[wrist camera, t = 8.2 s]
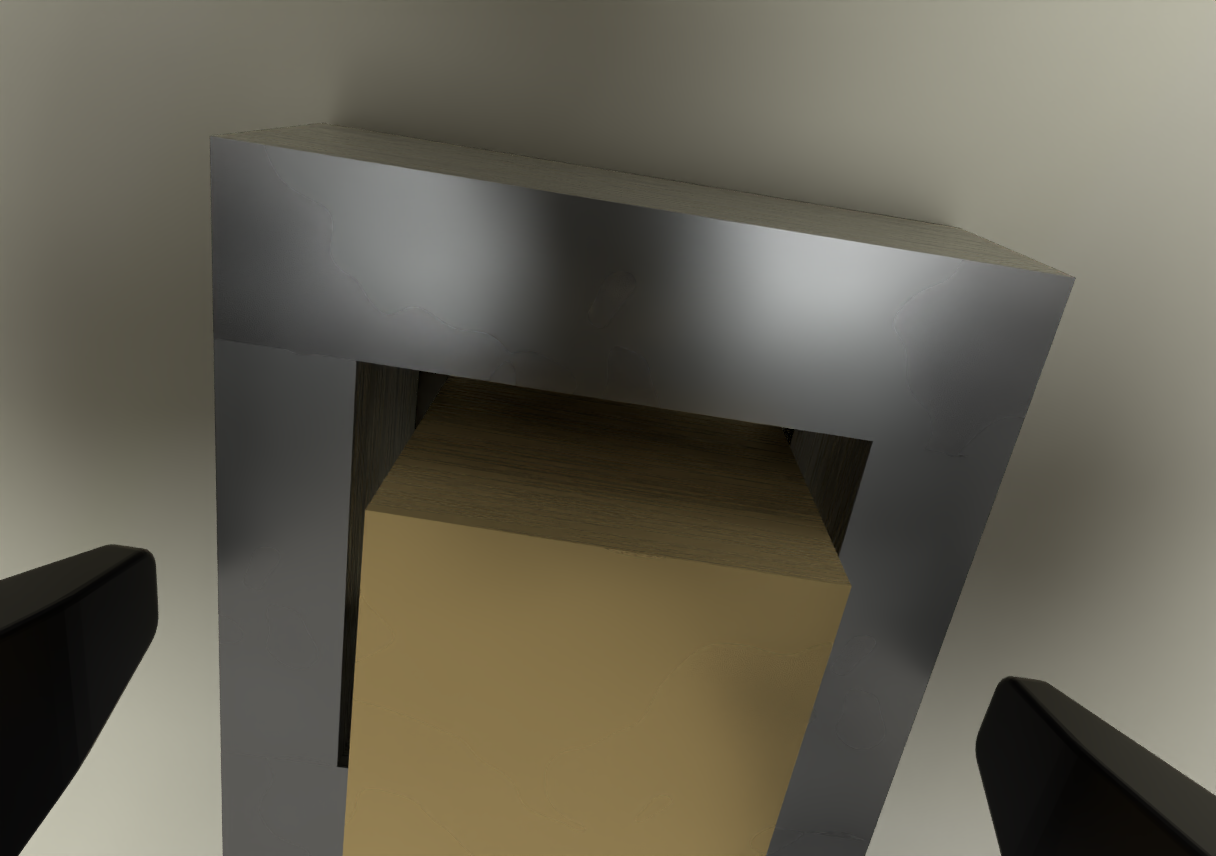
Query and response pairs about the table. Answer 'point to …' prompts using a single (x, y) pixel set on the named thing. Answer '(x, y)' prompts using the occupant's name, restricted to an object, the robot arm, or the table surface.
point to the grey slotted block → (599, 368)
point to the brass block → (584, 631)
